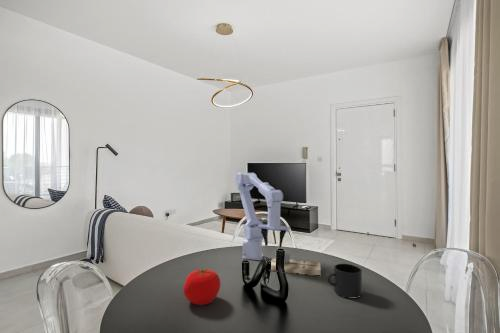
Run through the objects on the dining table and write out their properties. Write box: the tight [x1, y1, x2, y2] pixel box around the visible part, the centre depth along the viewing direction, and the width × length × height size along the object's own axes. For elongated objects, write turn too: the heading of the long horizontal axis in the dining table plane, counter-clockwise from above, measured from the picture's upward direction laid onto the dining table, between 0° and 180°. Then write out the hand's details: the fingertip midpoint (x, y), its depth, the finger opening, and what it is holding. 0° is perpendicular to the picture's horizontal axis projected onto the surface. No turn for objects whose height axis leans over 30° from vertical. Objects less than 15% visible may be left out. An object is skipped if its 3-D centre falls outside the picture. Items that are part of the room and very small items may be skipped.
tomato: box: [183, 268, 221, 306], centre depth 88 cm, size 11×12×10 cm
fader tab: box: [284, 251, 291, 264], centre depth 119 cm, size 3×4×4 cm
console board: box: [270, 257, 322, 277], centre depth 118 cm, size 22×10×2 cm, turn 76°
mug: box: [327, 263, 363, 297], centre depth 96 cm, size 9×12×9 cm
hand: (273, 246), depth 121 cm, fingers open, 6 cm apart
